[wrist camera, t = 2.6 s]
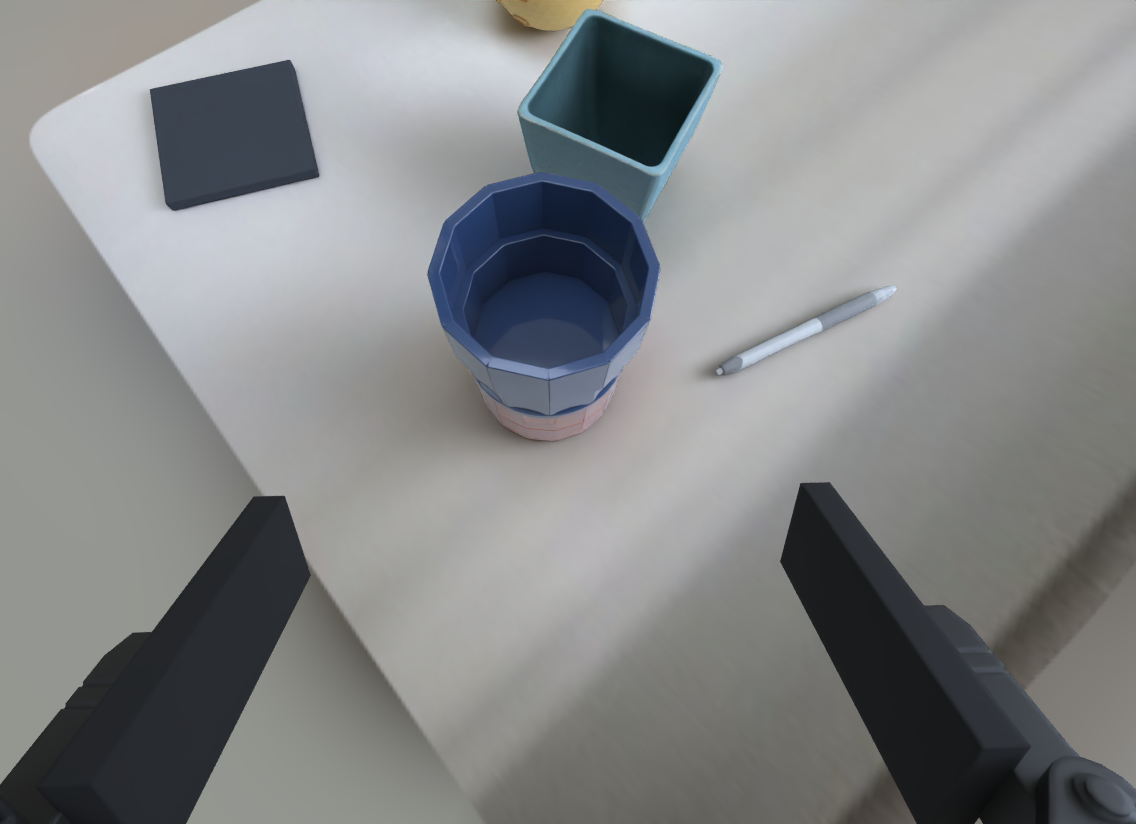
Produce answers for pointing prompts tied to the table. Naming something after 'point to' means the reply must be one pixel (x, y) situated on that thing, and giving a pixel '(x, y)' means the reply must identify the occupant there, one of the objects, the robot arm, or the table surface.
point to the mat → (231, 134)
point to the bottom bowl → (548, 420)
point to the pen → (805, 330)
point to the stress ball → (548, 12)
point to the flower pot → (617, 108)
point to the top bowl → (544, 291)
